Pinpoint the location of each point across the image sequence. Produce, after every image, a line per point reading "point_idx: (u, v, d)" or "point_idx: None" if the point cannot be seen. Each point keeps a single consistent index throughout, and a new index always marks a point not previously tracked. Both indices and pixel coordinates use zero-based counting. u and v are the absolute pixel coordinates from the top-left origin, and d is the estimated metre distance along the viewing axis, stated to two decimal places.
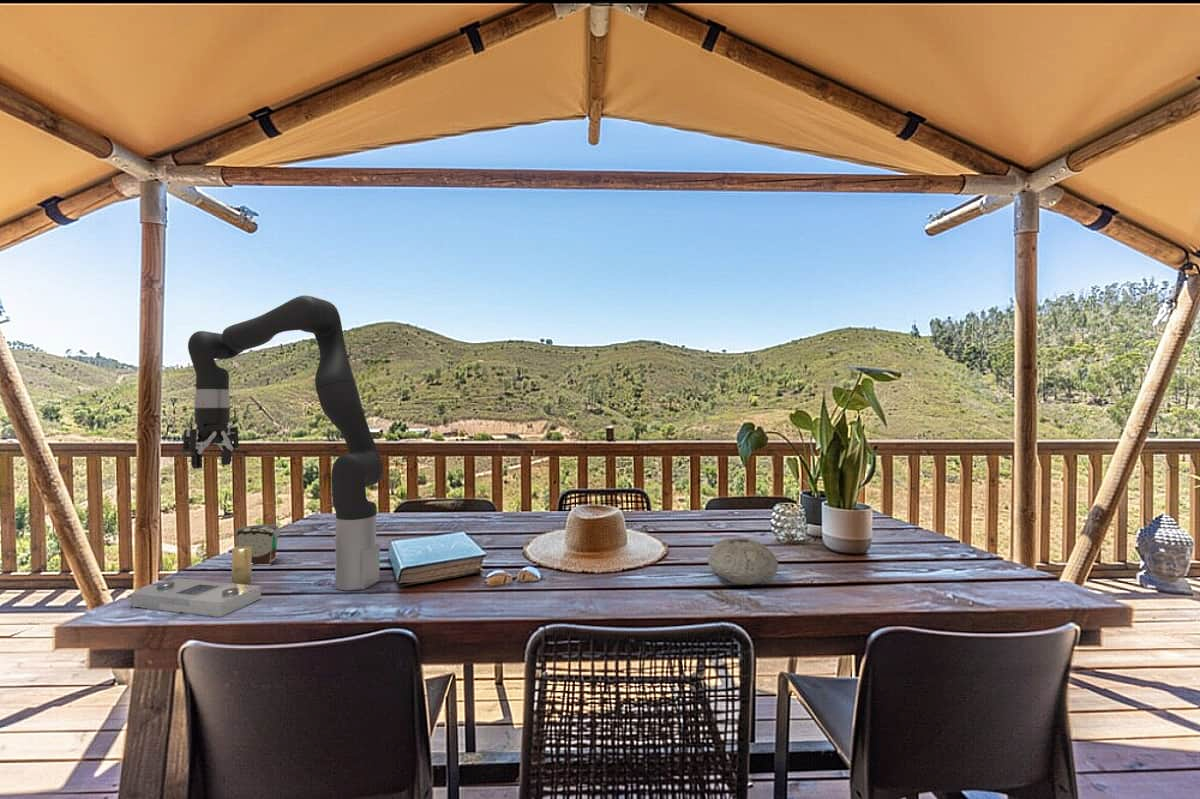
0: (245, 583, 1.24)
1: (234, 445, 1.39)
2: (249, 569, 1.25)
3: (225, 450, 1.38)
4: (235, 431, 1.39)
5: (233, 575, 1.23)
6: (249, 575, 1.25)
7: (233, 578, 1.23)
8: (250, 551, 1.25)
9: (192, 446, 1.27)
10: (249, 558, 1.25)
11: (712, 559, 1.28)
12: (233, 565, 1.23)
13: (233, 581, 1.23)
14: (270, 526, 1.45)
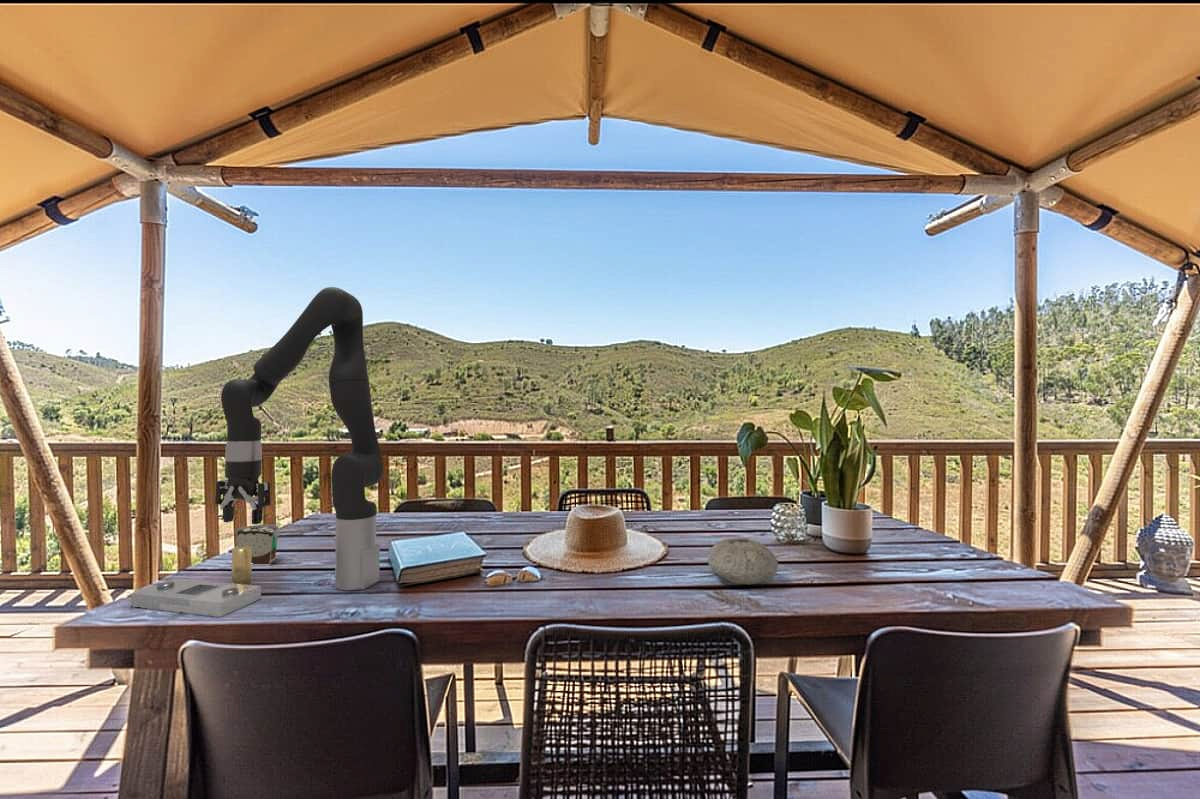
0: (245, 583, 1.24)
1: None
2: (249, 569, 1.25)
3: (229, 506, 1.26)
4: None
5: (233, 575, 1.23)
6: (249, 575, 1.25)
7: (233, 578, 1.23)
8: (250, 551, 1.25)
9: None
10: (249, 558, 1.25)
11: (712, 559, 1.28)
12: (233, 565, 1.23)
13: (233, 581, 1.23)
14: (270, 526, 1.45)
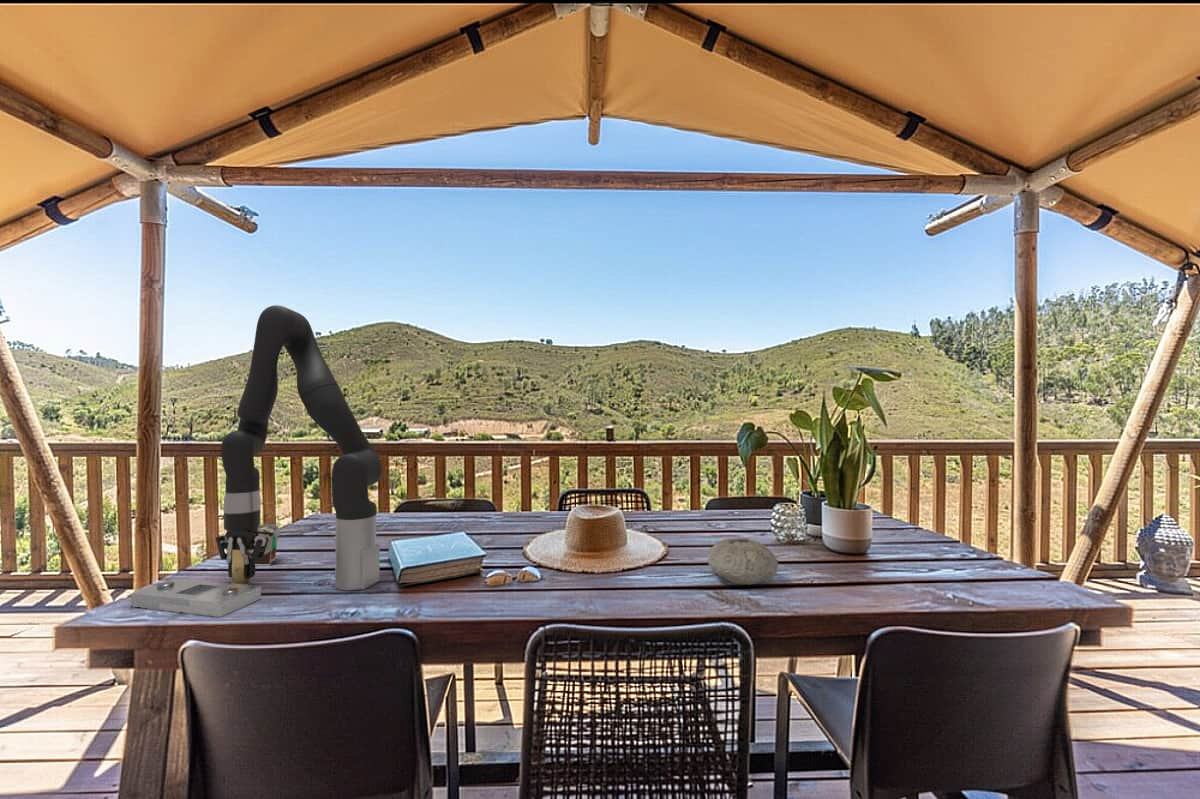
0: (245, 583, 1.24)
1: None
2: None
3: None
4: None
5: (233, 575, 1.23)
6: None
7: (233, 578, 1.23)
8: None
9: None
10: None
11: (712, 559, 1.28)
12: (233, 565, 1.23)
13: (233, 581, 1.23)
14: (270, 526, 1.45)
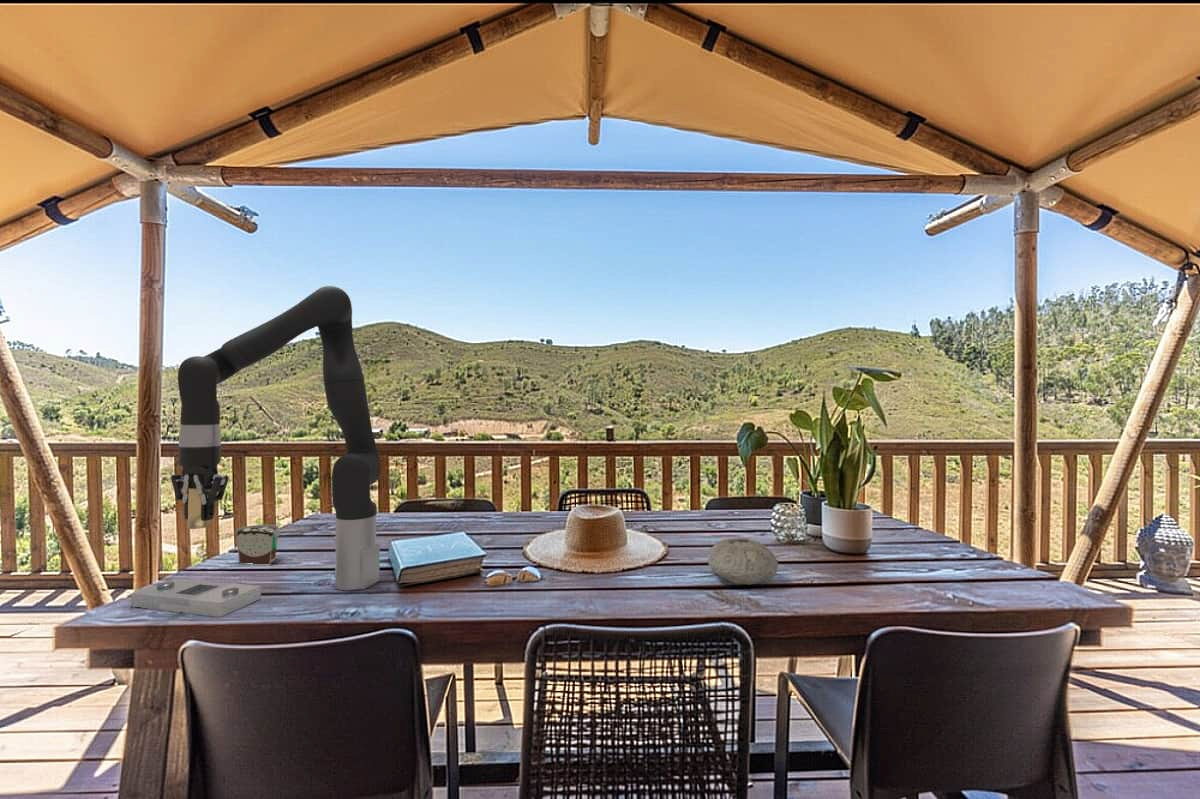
0: (203, 525, 1.12)
1: None
2: None
3: None
4: None
5: (189, 516, 1.11)
6: None
7: (189, 519, 1.11)
8: None
9: None
10: None
11: (712, 559, 1.28)
12: (190, 505, 1.11)
13: (189, 523, 1.11)
14: (270, 526, 1.45)
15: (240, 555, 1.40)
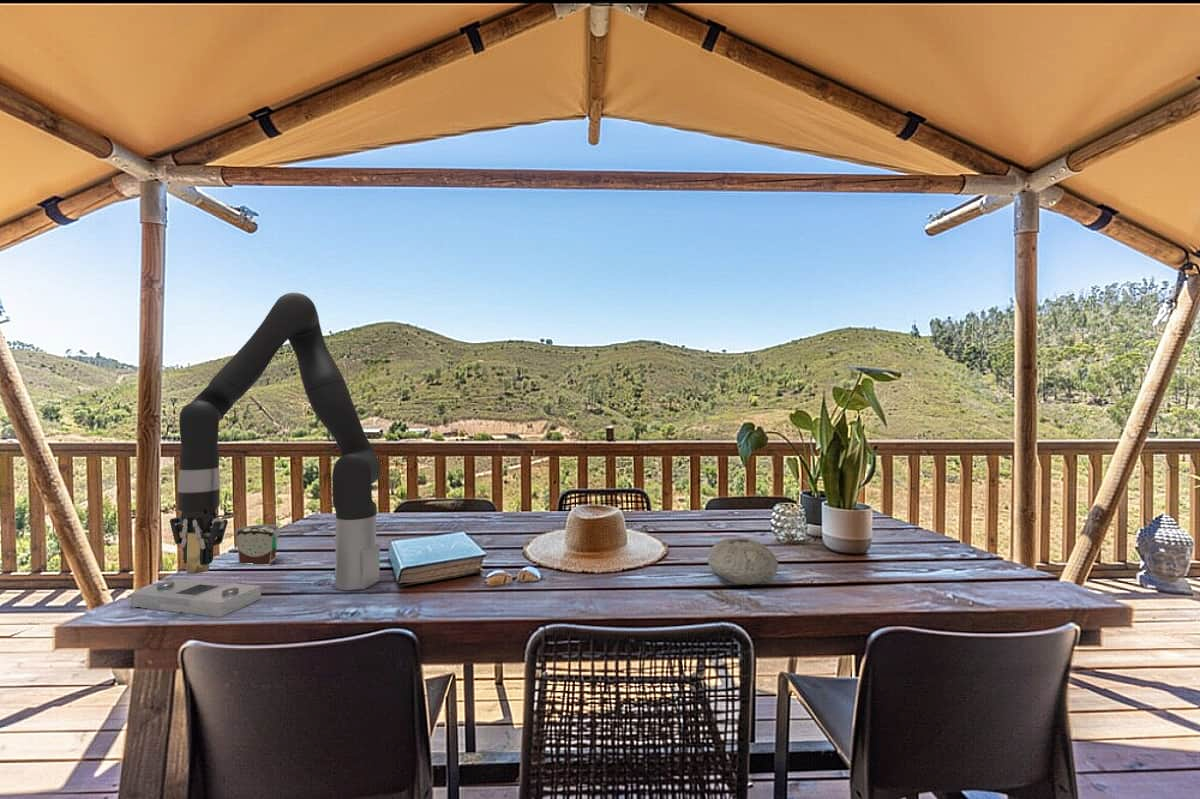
0: (202, 570, 1.12)
1: None
2: None
3: None
4: None
5: (188, 561, 1.11)
6: None
7: (188, 564, 1.11)
8: None
9: None
10: (206, 542, 1.13)
11: (712, 559, 1.28)
12: (188, 550, 1.11)
13: (188, 567, 1.11)
14: (270, 526, 1.45)
15: (240, 555, 1.40)
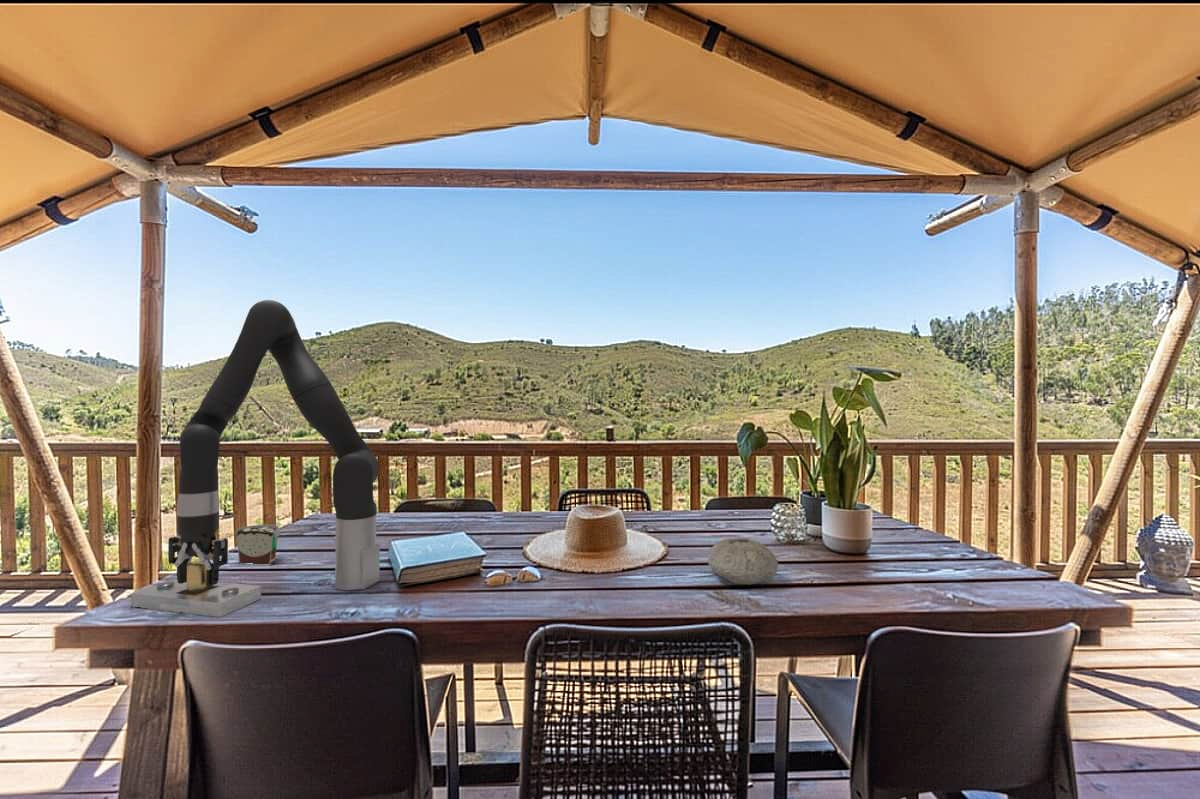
0: None
1: None
2: (206, 586, 1.13)
3: (184, 564, 1.14)
4: None
5: (188, 594, 1.11)
6: None
7: None
8: None
9: None
10: None
11: (712, 559, 1.28)
12: (188, 583, 1.11)
13: None
14: (270, 526, 1.45)
15: (240, 555, 1.40)
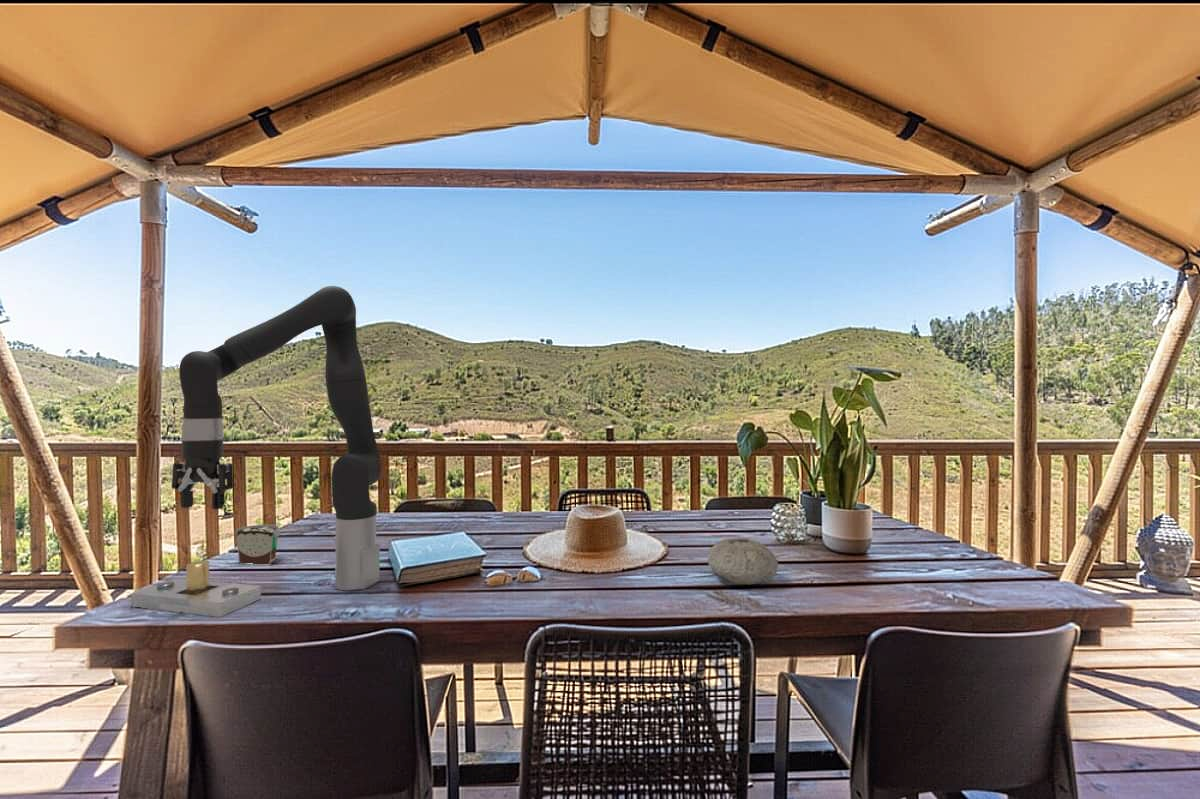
0: None
1: None
2: (206, 586, 1.13)
3: (187, 490, 1.16)
4: None
5: (188, 594, 1.11)
6: None
7: None
8: (207, 567, 1.13)
9: None
10: (206, 574, 1.13)
11: (712, 559, 1.28)
12: (188, 583, 1.11)
13: None
14: (270, 526, 1.45)
15: (240, 555, 1.40)
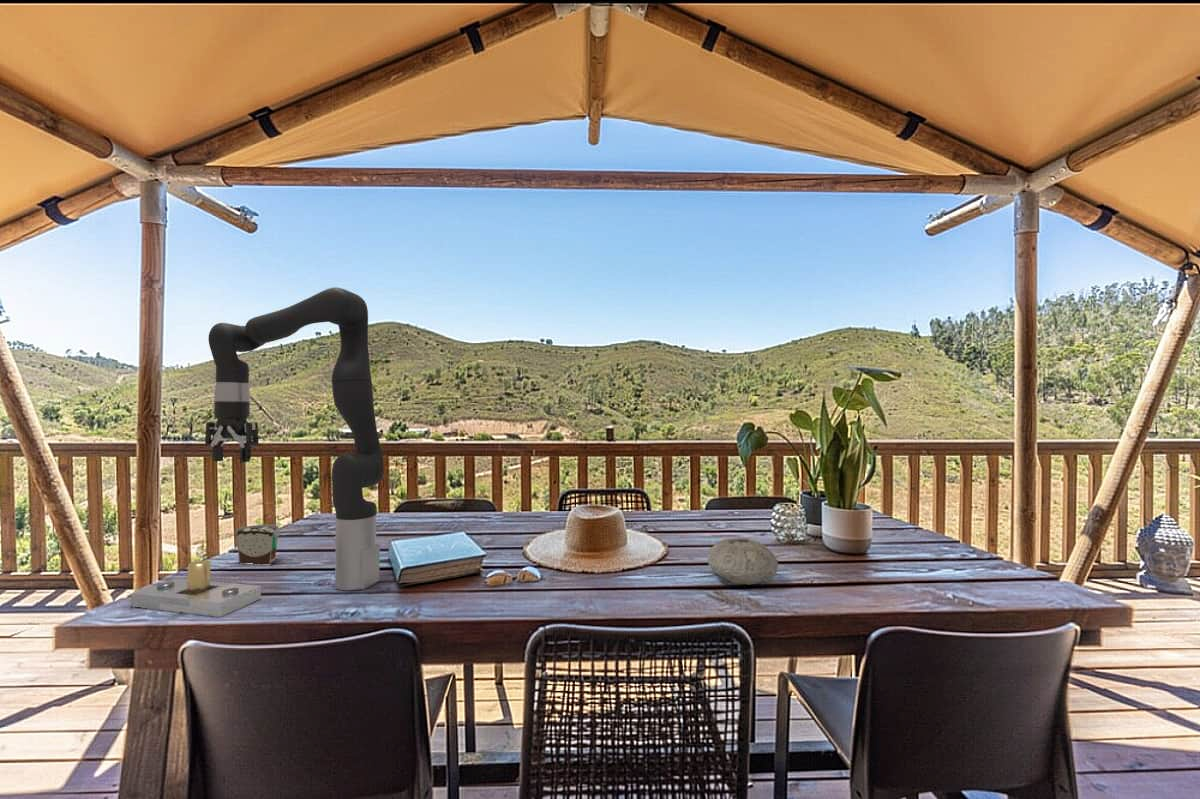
0: None
1: None
2: (206, 587, 1.13)
3: (218, 446, 1.31)
4: None
5: (188, 593, 1.11)
6: None
7: None
8: (209, 567, 1.13)
9: None
10: (206, 574, 1.13)
11: (712, 559, 1.28)
12: (189, 582, 1.11)
13: None
14: (270, 526, 1.45)
15: (240, 555, 1.40)
